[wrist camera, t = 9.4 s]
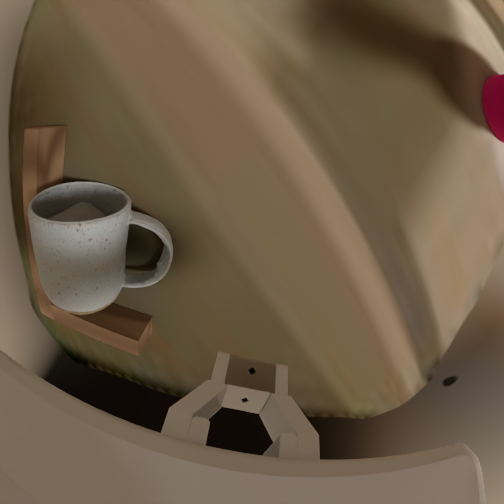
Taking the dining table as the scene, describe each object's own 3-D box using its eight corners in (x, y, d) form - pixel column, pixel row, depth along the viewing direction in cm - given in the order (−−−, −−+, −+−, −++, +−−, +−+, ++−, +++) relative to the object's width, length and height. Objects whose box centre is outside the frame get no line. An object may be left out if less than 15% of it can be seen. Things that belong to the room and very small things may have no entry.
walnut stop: (52, 124, 17) (24, 129, 14) (171, 136, 17) (150, 138, 14) (58, 295, 24) (41, 313, 21) (152, 331, 25) (139, 356, 22)
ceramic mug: (73, 259, 22) (25, 304, 15) (72, 176, 19) (7, 203, 12) (172, 291, 23) (139, 355, 16) (185, 200, 19) (141, 243, 12)
